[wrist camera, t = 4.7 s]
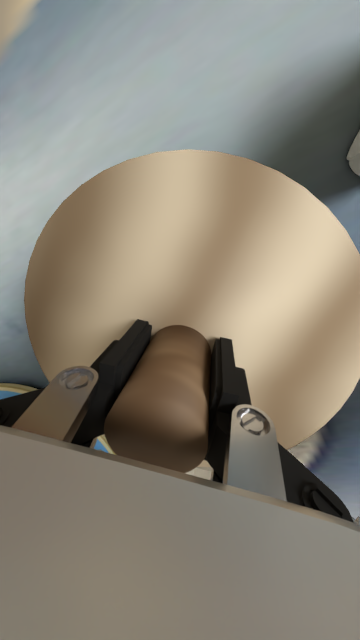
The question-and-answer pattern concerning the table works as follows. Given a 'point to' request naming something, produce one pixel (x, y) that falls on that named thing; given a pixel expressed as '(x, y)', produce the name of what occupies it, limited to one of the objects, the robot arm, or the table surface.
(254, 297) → the lid
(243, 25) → the table surface
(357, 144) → the photo printer
